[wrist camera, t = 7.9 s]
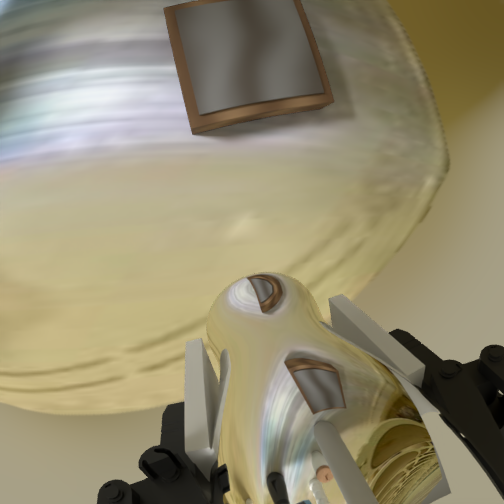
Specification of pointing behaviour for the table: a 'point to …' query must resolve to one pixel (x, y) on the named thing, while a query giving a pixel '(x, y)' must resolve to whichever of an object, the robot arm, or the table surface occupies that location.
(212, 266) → the table surface
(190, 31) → the walnut stand
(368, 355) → the beer glass
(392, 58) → the table surface
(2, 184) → the table surface
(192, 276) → the table surface
